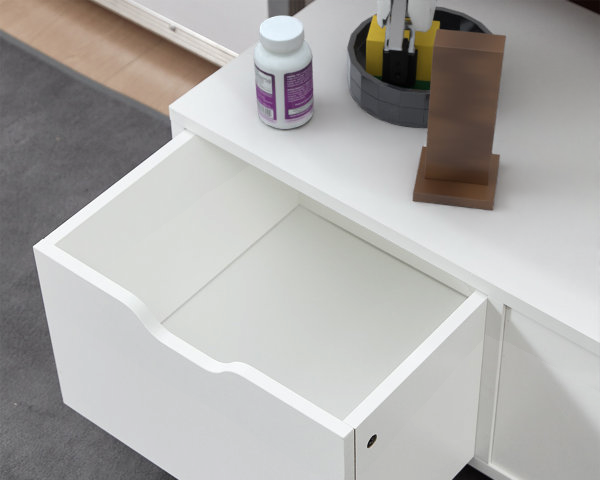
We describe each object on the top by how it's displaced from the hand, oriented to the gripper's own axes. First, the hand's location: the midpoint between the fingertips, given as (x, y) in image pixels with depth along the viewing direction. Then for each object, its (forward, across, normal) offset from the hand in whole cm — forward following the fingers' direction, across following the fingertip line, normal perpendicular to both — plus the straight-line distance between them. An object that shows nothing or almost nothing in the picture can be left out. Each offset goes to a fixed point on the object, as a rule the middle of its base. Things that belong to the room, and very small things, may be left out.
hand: (402, 66), depth 118 cm
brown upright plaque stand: (+2, -14, -7) cm, 16 cm away
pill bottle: (+2, -7, +10) cm, 12 cm away
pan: (+2, 0, -2) cm, 2 cm away
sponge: (+1, 0, 0) cm, 1 cm away
